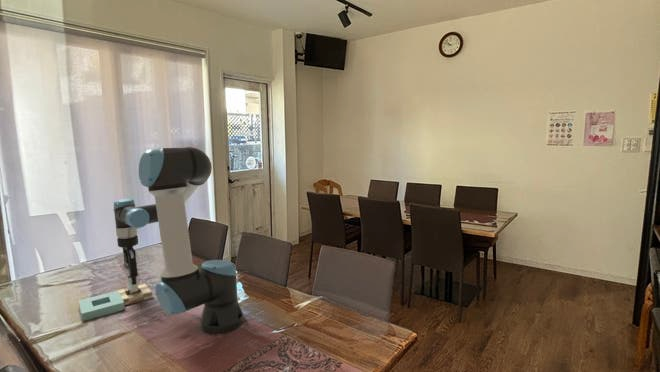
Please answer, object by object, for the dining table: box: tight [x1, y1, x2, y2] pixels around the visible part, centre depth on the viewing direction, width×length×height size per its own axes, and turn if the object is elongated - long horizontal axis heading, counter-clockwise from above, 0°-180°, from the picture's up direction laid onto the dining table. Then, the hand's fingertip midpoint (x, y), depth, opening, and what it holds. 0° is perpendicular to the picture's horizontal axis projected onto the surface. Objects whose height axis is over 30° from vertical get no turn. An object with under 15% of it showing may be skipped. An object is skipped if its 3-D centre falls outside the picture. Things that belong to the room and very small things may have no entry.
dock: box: [78, 290, 126, 322], centre depth 144 cm, size 14×14×3 cm
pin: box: [123, 261, 139, 295], centre depth 153 cm, size 5×5×15 cm
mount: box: [116, 283, 153, 306], centre depth 154 cm, size 12×12×2 cm
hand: (132, 288), depth 153 cm, fingers open, 7 cm apart
